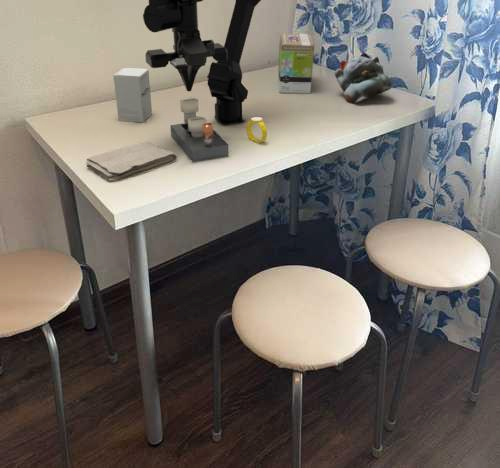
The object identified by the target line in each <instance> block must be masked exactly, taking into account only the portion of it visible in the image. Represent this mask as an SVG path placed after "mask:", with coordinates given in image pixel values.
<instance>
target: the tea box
mask: <svg viewBox="0 0 500 468" xmlns="http://www.w3.org/2000/svg"><path fill="white" fill-rule="evenodd" d="M314 54H315V43H314V41H313V38H312V35H311V34H310V33H280V35H279V48H278V70H277V71H278V76H277V77H278V80H277V81H278V91H279V93H281V94H282V93H283V94H286V93H287V94H311V92H312V81H313V79H312V78H313V67H314V56H315V55H314Z"/></svg>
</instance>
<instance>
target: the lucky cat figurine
mask: <svg viewBox="0 0 500 468" xmlns="http://www.w3.org/2000/svg"><path fill="white" fill-rule="evenodd" d="M333 74H334V77H335V78H336V81H337V83H338V84H339V86H340V88H341V89H342V92H343V95H344V99H345V101H346V102H348V103H350V104H354V105H355V104H357V103H360V102H362V101H364V100H367V99H369V98H371V97H374V96H378V95H380V94H382V93H385V92H387V91H390V90H392V87H393V85H392V81H391V78H390V77H389V76H388V75H386V74H384V69H383V66H382V65H381V63H380V58H379V57H378V56H376V55H375V56H373V57H372V58H371V57H370V56H369V55H368V54H367V53H366V52H363V53H361V54H360V56H355V57H353V58H351V59H350V60H349V61H347V60H341V61H340V64H339V67H338V68H336V70H335V71H334V73H333Z"/></svg>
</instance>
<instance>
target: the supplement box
mask: <svg viewBox="0 0 500 468" xmlns="http://www.w3.org/2000/svg"><path fill="white" fill-rule="evenodd" d="M149 72H150V71H149V68H136V67H135V68H134V67H123V68H121V69H120V70H119V71H117V72H116V73H114V74H113V82H114V83H113V84H114V92H115V93H114V94H115V101H116V102H115V103H116V110H117V118H118V120H117V121H120V122H131V123H144V122H145V121H146V120H147V119H148V118H149V117H150V116H151V115H152V114H153V109H152V108H153V107H152V99H151V98H152V97H151V96H152V95H151V86H150V73H149Z"/></svg>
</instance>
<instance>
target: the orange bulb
mask: <svg viewBox="0 0 500 468" xmlns="http://www.w3.org/2000/svg"><path fill="white" fill-rule="evenodd" d="M213 125H214V124H213V123H210V122H206V123H204V124H202V132H203V138H204V140H205V146H211V145H212V144H211V138H213V130H214V126H213Z"/></svg>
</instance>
